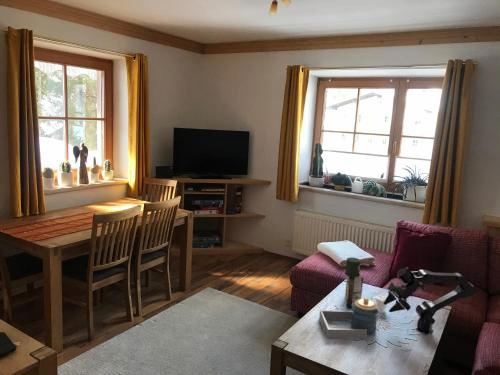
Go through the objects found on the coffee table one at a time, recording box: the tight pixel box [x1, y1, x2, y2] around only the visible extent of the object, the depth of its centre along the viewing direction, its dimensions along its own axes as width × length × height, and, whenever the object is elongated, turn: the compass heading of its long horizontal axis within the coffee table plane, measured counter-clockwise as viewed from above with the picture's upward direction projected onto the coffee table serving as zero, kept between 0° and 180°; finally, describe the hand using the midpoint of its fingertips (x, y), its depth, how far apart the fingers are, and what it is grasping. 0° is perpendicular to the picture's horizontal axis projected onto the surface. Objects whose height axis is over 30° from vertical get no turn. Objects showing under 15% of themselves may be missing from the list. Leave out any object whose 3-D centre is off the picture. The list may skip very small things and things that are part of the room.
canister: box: [350, 297, 379, 336], centre depth 212 cm, size 13×13×18 cm
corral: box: [318, 309, 368, 340], centre depth 212 cm, size 20×20×5 cm
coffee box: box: [344, 275, 364, 304], centre depth 246 cm, size 9×6×16 cm
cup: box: [370, 294, 388, 313], centre depth 235 cm, size 7×10×8 cm
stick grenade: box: [344, 257, 361, 310], centre depth 234 cm, size 8×9×30 cm
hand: (386, 307), depth 212 cm, fingers open, 8 cm apart
